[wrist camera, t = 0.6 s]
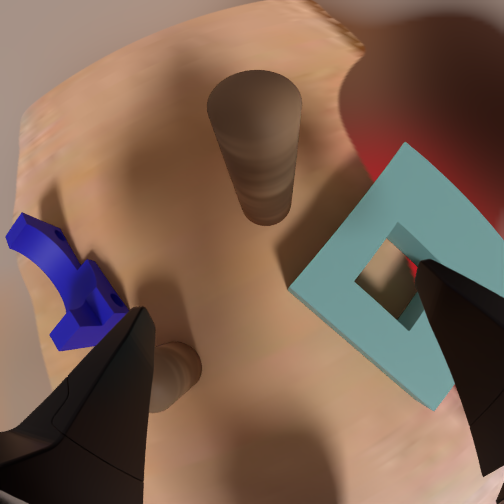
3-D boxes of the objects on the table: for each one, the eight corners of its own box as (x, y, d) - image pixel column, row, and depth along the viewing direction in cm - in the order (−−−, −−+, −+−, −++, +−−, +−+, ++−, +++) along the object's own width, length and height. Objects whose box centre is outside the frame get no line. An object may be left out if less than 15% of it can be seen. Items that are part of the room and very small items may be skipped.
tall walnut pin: (301, 199, 23) (320, 97, 11) (268, 236, 23) (258, 156, 11) (263, 170, 24) (250, 59, 12) (231, 204, 24) (188, 109, 11)
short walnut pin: (212, 366, 21) (189, 385, 15) (180, 398, 21) (151, 424, 15) (175, 331, 22) (142, 338, 16) (145, 364, 22) (108, 378, 16)
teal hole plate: (496, 266, 20) (518, 260, 17) (415, 399, 19) (433, 411, 16) (391, 161, 23) (404, 141, 20) (287, 289, 22) (289, 286, 18)
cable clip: (132, 313, 23) (91, 313, 17) (101, 344, 23) (59, 351, 17) (69, 218, 25) (31, 199, 19) (45, 249, 25) (5, 236, 19)
